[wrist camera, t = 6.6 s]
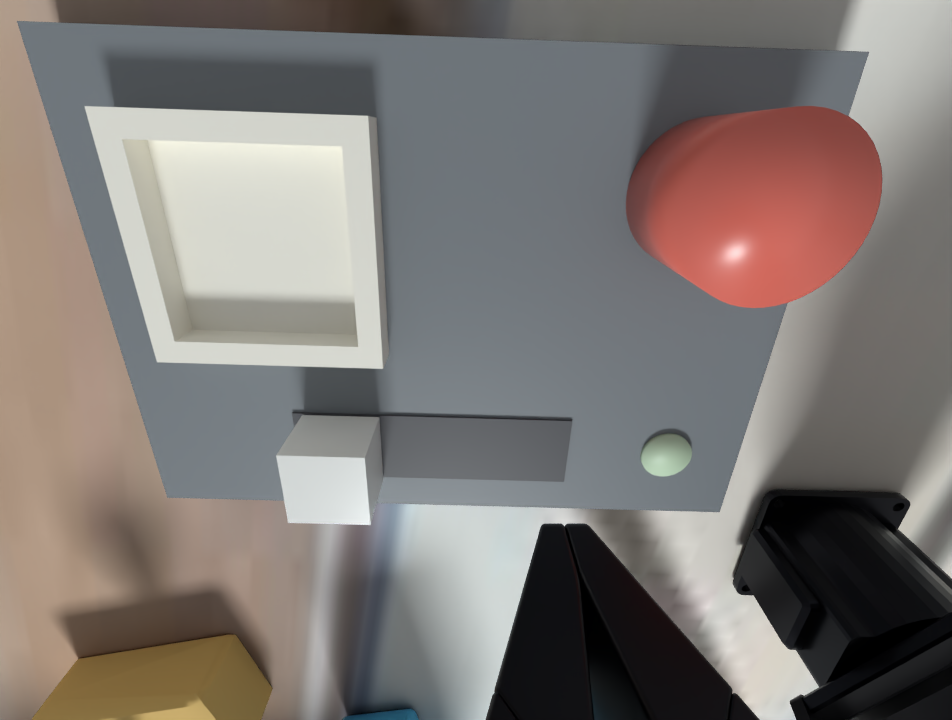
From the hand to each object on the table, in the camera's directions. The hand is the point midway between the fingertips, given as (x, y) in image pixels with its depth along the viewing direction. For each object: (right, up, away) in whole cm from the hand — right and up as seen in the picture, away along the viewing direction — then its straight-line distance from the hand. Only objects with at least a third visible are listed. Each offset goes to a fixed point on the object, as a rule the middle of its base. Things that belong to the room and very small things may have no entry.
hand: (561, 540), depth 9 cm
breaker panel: (-3, +5, +9) cm, 11 cm away
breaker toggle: (-7, 0, +10) cm, 12 cm away
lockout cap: (+5, +9, +6) cm, 12 cm away
